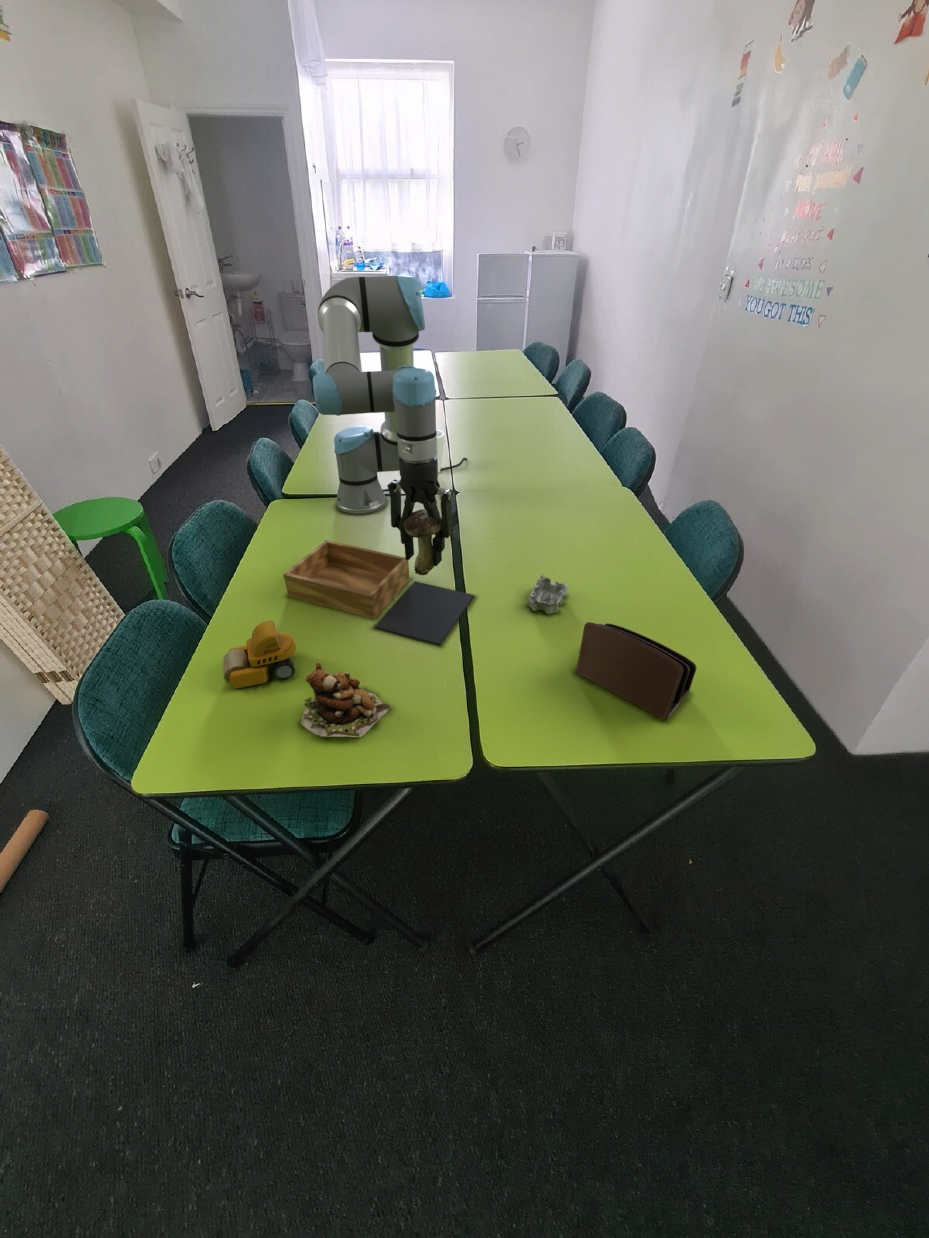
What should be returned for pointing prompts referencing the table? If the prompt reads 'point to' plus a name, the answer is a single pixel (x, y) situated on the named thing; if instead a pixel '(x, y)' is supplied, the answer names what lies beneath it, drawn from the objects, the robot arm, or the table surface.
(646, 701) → the letter holder
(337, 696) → the bear figurine
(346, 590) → the crate
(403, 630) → the mat
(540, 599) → the egg carton
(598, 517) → the table surface
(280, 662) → the toy roller
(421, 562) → the mushroom
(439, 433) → the foam cup
